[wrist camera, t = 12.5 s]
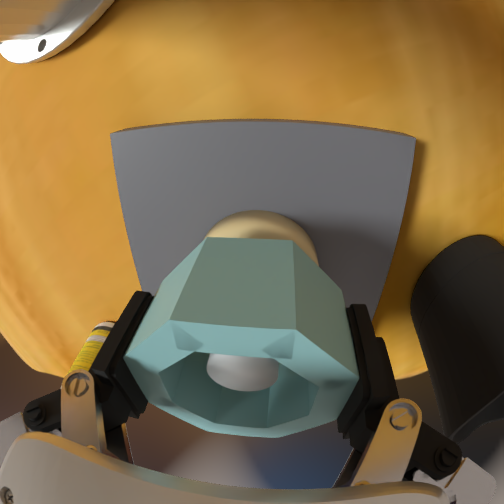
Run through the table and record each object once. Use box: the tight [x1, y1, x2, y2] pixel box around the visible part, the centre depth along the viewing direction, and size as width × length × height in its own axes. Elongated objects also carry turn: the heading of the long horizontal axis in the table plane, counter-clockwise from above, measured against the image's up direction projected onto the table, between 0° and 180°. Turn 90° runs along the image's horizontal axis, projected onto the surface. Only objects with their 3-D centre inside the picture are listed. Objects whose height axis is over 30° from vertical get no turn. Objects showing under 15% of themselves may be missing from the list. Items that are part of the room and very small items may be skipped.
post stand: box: [110, 119, 416, 391], centre depth 12 cm, size 14×14×8 cm
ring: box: [123, 237, 360, 438], centre depth 10 cm, size 7×7×4 cm
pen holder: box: [411, 235, 504, 444], centre depth 11 cm, size 9×9×10 cm
